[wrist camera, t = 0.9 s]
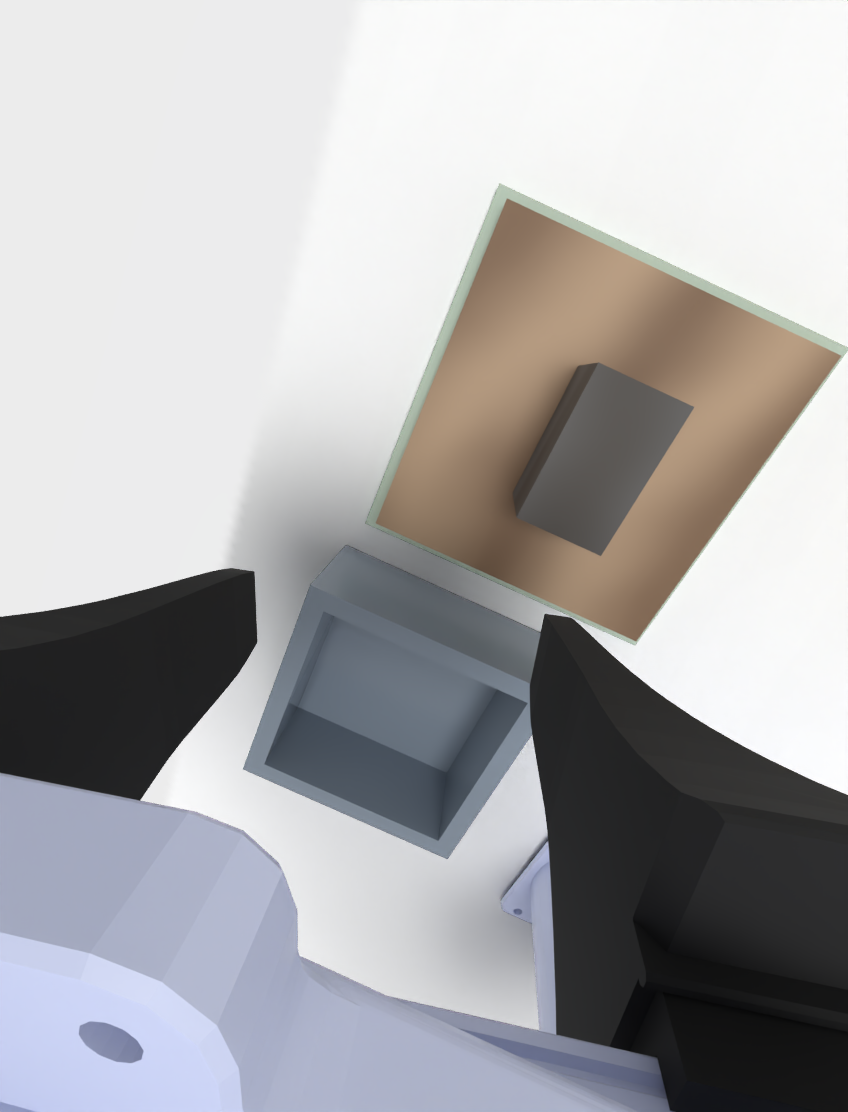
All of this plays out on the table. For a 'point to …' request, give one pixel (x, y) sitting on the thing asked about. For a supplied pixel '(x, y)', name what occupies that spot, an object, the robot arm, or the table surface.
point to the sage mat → (457, 307)
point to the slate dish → (396, 702)
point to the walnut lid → (593, 423)
